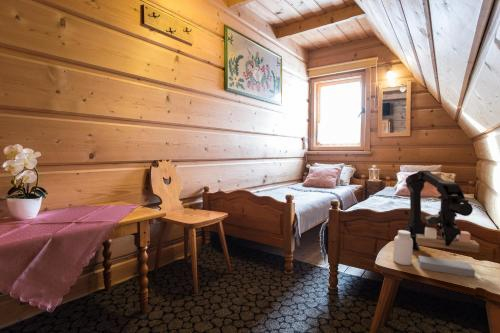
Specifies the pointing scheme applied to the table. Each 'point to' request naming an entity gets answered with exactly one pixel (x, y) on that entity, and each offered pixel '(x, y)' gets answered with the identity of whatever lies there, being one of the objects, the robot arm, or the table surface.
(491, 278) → the table surface
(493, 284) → the table surface
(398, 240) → the pill bottle
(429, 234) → the block
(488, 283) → the table surface
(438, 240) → the tan long bar
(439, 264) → the block
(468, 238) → the block
